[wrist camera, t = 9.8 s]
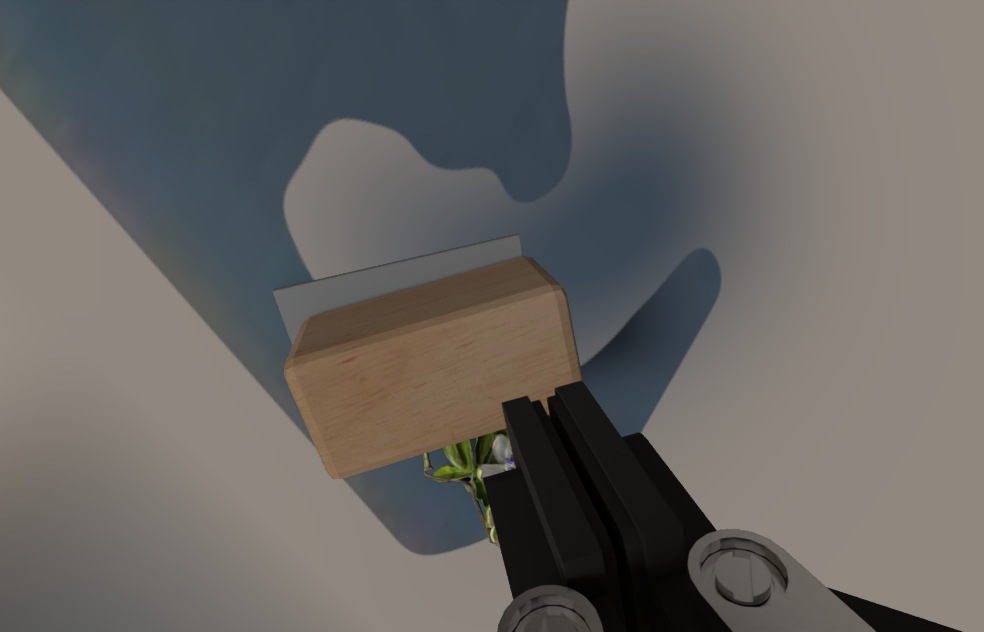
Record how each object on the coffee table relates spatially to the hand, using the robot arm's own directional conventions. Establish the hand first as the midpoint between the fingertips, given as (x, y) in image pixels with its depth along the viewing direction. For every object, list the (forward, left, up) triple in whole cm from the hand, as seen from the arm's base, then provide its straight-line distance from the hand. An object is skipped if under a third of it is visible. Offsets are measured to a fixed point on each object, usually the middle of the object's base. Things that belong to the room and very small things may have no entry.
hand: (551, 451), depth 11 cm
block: (+11, +8, -29) cm, 32 cm away
